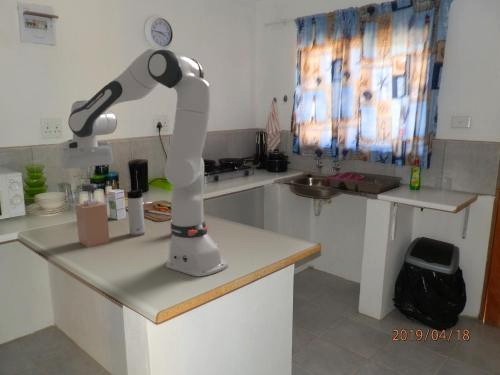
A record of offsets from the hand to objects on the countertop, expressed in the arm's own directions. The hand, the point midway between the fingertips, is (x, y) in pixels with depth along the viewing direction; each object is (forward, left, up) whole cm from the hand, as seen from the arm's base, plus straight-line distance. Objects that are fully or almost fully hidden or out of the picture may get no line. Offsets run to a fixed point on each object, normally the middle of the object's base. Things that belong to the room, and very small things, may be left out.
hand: (88, 177), depth 154 cm
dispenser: (0, 0, -27) cm, 27 cm away
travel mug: (-3, -18, -27) cm, 33 cm away
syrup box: (+29, -24, -27) cm, 46 cm away
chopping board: (+26, -48, -28) cm, 61 cm away
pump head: (+2, 0, -15) cm, 15 cm away
